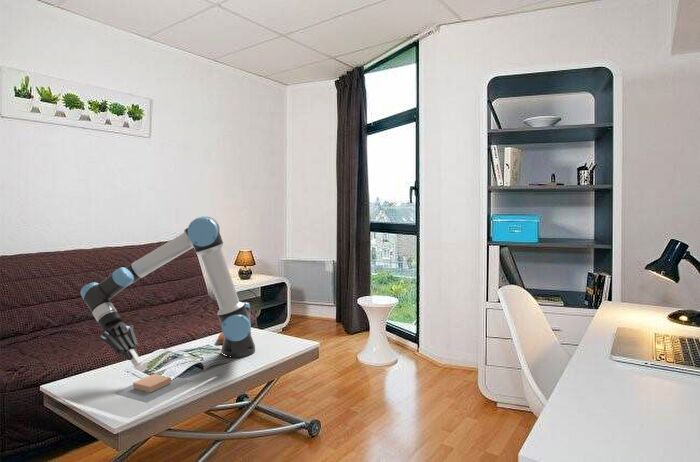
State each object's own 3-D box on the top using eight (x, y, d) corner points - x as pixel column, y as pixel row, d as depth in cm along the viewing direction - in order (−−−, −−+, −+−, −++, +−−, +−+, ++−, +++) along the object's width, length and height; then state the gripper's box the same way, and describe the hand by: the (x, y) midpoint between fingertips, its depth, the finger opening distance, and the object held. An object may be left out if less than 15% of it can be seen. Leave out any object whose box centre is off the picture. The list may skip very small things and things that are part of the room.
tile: (133, 382, 156) (149, 386, 152) (154, 374, 164) (170, 377, 160) (133, 388, 156) (150, 393, 152) (154, 379, 164) (171, 383, 160)
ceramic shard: (247, 324, 226) (249, 336, 212) (246, 336, 227) (247, 348, 213) (218, 323, 222) (218, 335, 208) (217, 335, 223) (217, 348, 209)
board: (112, 395, 153) (112, 393, 153) (159, 375, 171) (159, 373, 171) (147, 405, 145) (146, 402, 145) (192, 383, 163) (192, 380, 163)
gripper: (118, 319, 175) (148, 365, 168) (87, 327, 163) (118, 376, 156) (126, 307, 172) (157, 353, 165) (95, 314, 160) (127, 364, 154)
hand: (138, 364), depth 161 cm, fingers closed
